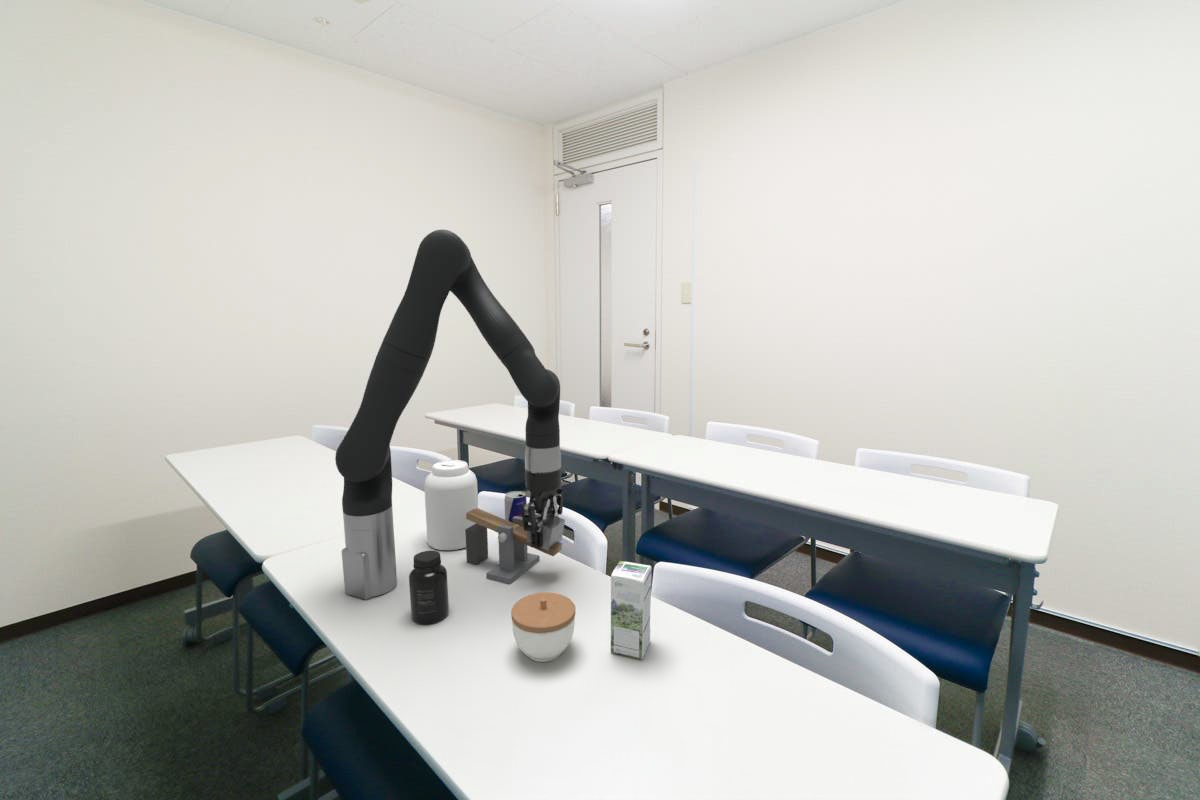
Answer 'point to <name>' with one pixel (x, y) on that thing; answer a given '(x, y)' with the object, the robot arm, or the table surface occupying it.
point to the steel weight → (550, 531)
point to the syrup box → (630, 609)
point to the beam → (495, 521)
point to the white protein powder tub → (449, 504)
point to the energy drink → (514, 504)
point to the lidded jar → (543, 625)
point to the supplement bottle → (428, 588)
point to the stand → (500, 552)
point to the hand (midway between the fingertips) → (544, 541)
